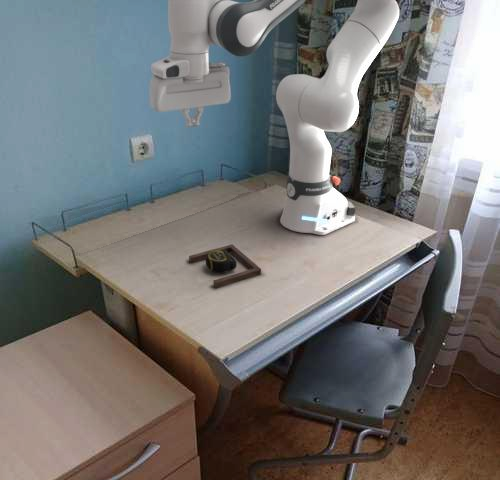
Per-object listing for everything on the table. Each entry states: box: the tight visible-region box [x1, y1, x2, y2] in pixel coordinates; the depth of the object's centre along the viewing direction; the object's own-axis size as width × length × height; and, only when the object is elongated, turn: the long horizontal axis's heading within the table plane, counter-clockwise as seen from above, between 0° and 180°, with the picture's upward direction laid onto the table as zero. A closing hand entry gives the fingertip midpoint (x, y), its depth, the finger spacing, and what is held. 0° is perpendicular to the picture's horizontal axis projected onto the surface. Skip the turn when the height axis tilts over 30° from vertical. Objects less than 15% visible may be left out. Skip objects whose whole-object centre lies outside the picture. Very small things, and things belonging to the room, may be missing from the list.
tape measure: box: [205, 249, 238, 274], centre depth 128 cm, size 7×7×4 cm
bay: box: [188, 243, 262, 289], centre depth 129 cm, size 13×14×2 cm
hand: (192, 125), depth 127 cm, fingers closed
